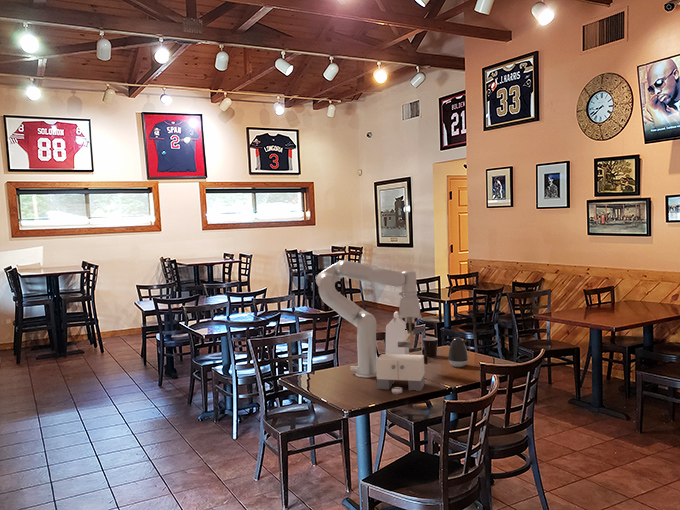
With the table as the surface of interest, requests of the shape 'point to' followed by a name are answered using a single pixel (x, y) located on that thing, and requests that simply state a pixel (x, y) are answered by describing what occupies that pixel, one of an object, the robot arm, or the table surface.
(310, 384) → the table surface
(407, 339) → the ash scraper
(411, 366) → the cabinet
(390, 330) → the milk
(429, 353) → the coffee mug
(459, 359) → the pump dispenser
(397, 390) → the steel puck
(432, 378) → the table surface
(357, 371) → the robot arm
